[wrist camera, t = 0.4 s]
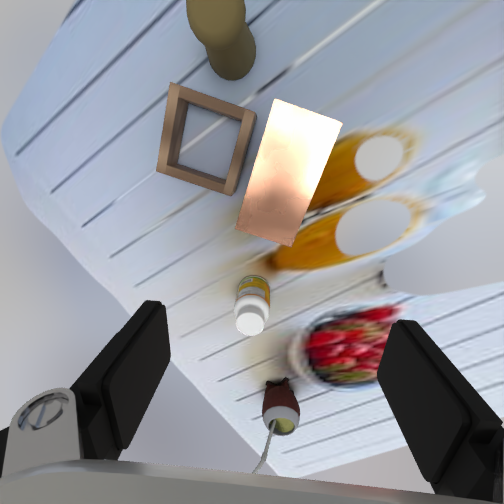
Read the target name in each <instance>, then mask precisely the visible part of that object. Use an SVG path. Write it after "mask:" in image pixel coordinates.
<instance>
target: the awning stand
mask: <svg viewBox="0 0 504 504" xmlns="http://www.w3.org/2000/svg"><path fill="white" fill-rule="evenodd" d="M341 126H342V122H339V121H336V120H333V119H331V118H328V117H325V116H322V115H319V114H317V113H314V112H311V111H308V110H306V109H303V108H300V107H297V106H295V105H292V104H289V103H286V102H283V101H281V100H278V99H274V102H273V106H272V109H271V112H270V115H269V119H268V122H267V125H266V128H265V132H264V135H263V138H262V142H261V145H260V148H259V151H258V155H257V158H256V161H255V164H254V168H253V171H252V174H251V178H250V181H249V184H248V187H247V191H246V194H245V197H244V200H243V204H242V207H241V210H240V213H239V217H238V220H237V223H236V227H235V229H237V230H240V231H243V232H246V233H249V234H252V235H255V236H258V237H261V238H265V239H268V240H271V241H274V242H277V243H280V244H283V245H286V246H289V247H292V244H293V242H294V239H295V237H296V235H297V232H298V230H299V227H300V225H301V223H302V220H303V218H304V215H305V213H306V210H307V208H308V206H309V203H310V201H311V198H312V196H313V193H314V191H315V189H316V186H317V184H318V181H319V179H320V177H321V174H322V172H323V169H324V167H325V164H326V162H327V160H328V157H329V155H330V152H331V150H332V148H333V145H334V143H335V140H336V138H337V135H338V133H339V131H340V128H341Z"/></svg>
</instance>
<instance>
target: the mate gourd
mask: <svg viewBox="0 0 504 504" xmlns="http://www.w3.org/2000/svg"><path fill="white" fill-rule="evenodd" d="M288 381H289V379H288V378H286V377H285V378H284V379H283V381H282V382H281V383H280V384H279V385H277V384H275V383H272V382H270V381H267V382H266V385H267V388H266V391H265V395H264V401H263V408H262V416H263V421H264V423H265V425H266V427H267V429H268V430H269V431H270V432H269V436H268V439H267V443H266V446H265V450H264V452H263V454H262V457H261V461H260V463H259V464H258V466H257V467H256V469H255V470H254V471H253V472H252V474H256V473H257V472H258V471H259V470H260V468H261V467H262V465H263V463H264V461H266V458H267V452H268V448H269V444H270V441H271V437H272V433H273V434H275V435H279V436H285V435H289V434H291V433H293V432H294V431H295V430H296V428H297V427H298V424H299V419H300V418H299V417H300V408H299V405H298V402H297V400H296V397H295V395H294V392H293V391H292V390H289V386H288V383H287V382H288Z"/></svg>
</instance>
